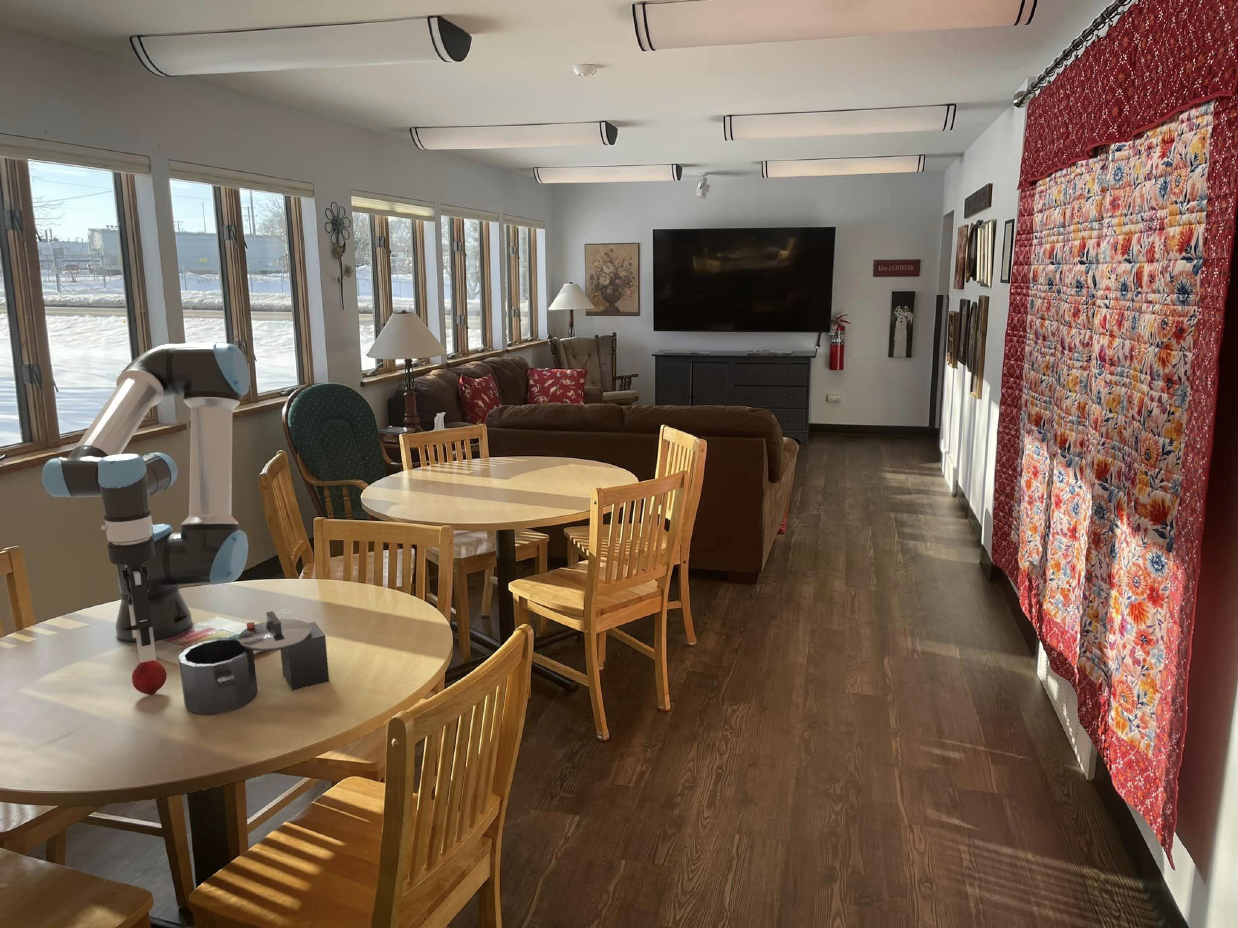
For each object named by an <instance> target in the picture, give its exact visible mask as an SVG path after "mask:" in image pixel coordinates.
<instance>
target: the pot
mask: <svg viewBox="0 0 1238 928" xmlns="http://www.w3.org/2000/svg"><path fill="white" fill-rule="evenodd" d="M178 662H179V664H178V665H179V671H180V679H181V685H182V686H181V688H182V694H183V701H184V705H185V709H186V711H188V712H189V713H191V714H195V715H200V716H212V715H213V716H214V715H221V714H226V713H229V712H233V711H236V710H238V709H241V708H244V707H245V706H247V705H249V704H250V703H251V702H253V701H254V699H255V698H256V697H257V695H258V693H259V690H258V680H257V671H256V662H255V651H253V650H248V649H245V648H243V647H241V646H240V645H239V639H238V637H218V638H213V639H209V640H204V641H201V642H198V643H196V644H193V645H191V646H189V647H187V648H185V649H184V650H183V651H182V652H181V653H180V654H179V655H178Z"/></svg>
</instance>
